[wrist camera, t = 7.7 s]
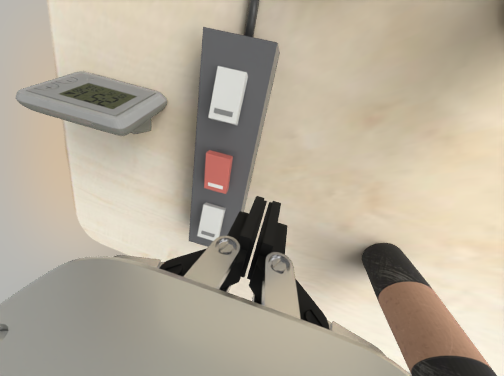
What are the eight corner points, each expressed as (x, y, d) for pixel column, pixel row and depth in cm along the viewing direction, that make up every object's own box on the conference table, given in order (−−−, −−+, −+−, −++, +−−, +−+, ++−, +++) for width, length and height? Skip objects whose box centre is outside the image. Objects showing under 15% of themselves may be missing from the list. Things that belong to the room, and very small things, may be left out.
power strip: (222, -19, 24) (206, -47, 19) (292, -6, 23) (293, -31, 18) (198, 225, 42) (187, 240, 37) (238, 237, 41) (231, 253, 37)
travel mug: (357, 269, 39) (414, 412, 21) (363, 240, 36) (436, 380, 18) (399, 272, 37) (498, 430, 19) (409, 242, 34) (539, 398, 16)
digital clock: (174, 98, 31) (124, 97, 21) (164, 146, 35) (117, 163, 26) (85, 52, 30) (-7, 30, 21) (85, 106, 35) (8, 109, 25)
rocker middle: (209, 150, 27) (205, 153, 26) (232, 156, 27) (230, 159, 26) (207, 184, 30) (204, 188, 29) (228, 190, 30) (225, 194, 29)
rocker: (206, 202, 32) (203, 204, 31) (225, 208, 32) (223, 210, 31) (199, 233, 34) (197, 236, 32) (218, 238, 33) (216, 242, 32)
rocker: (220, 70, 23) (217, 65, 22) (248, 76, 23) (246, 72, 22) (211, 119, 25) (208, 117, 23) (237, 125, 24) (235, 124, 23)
